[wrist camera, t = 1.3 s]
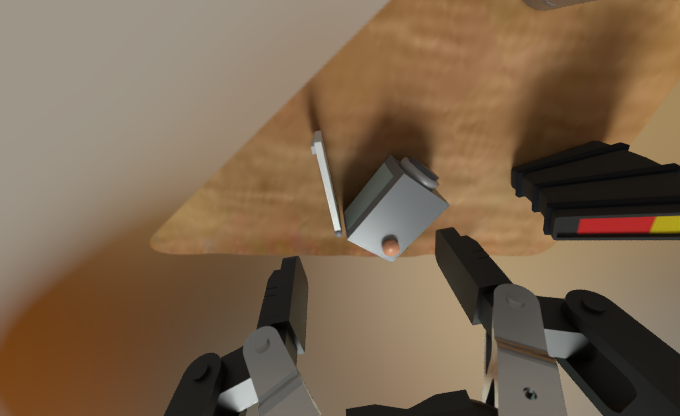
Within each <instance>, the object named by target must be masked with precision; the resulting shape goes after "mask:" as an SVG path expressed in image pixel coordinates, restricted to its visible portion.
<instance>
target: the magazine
mask: <svg viewBox="0 0 680 416" xmlns="http://www.w3.org/2000/svg"><path fill="white" fill-rule="evenodd" d="M629 146H630V145H628V144H624V143H621V142H620V143H616V144H613V145H609V144H606V143H603V142H600V141H594V142H591V143H588V144H585V145H582V146H579V147H575V148H572V149H569V150H566V151H563V152H560V153H557V154H554V155H551V156H548V157H545V158H542V159H539V160H536V161H533V162H530V163H527V164H524V165H521V166H518V167H515V168H513V169H512V182H511V186H512V188H514V189H515V190H516V196H517V197H523V196H525V197H526V198H528V199H529V200H530V201H531V202H532V211H533V212H541V213H542V215H543V216H544V227H543V231H544V234H545V235H551V236H552V238H553V240H680V166H679V165H677V164H675V163H672V164H666V165H660V164H658V163H656V162H654V161H652V160H650V159H648V158H646V157H643V156H641V155H638V154H635V153H632V152H629V151H628V150H629Z"/></svg>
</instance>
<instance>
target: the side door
mask: <svg viewBox="0 0 680 416" xmlns="http://www.w3.org/2000/svg"><path fill="white" fill-rule="evenodd" d="M311 149H312V153H313V154H317V158H318V162H319V166H320V170H321V174H322V179H323V183H324V187H325V191H326V195H327V199H328V204H329V208H330V212H331V216H332V220H333V225H334V229H335V236H336V237H341V236H342V227H341V220H340V212H339V211H338V207H337V202H336V198H335V193H334V188H333V184H332V179H331V175H330V170H329V166H328V161H327V156H326V152H325V147H324V143H323V138H322V134H321V130H320V131H315V135H314V138H312V141H311Z"/></svg>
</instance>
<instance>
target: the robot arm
mask: <svg viewBox="0 0 680 416" xmlns="http://www.w3.org/2000/svg"><path fill="white" fill-rule="evenodd" d="M523 1H524V2H525V3H526V4H527V5H528V6H530V7H532V8H534V9H538V10H550V9H556V8H561V7H566V6H571V5H575V4H580V3H585V2H590V1H595V0H523ZM435 256H436V260H437V263H438V266H439V267H440V269H441V271H442V273H443V274H444V276H445V278H446V279H447V281H448V283H449V285H450V287H451V288H452V290H453V292H454V293H455V295H456V297H457V299H458V301H459V302H460V304H461V306H462V308H463V309H464V311H465V313H466V315H467V316H468V318H469V320H470V322H471V323H472V325H477V324H482V325H483V327H484V328H485V330H486V331H485V349H484V383H483V393H482V402H481V401H477V400H473V399H470V398H469V396H468V394H467V391H466V390H460V391H454V392H448V393H442V394H436V395H434V396H432V397H430V398H428V399H426V400H424V401H423V402H421V403H419V404H417V405H415V406H413V407H411V408H409V409H402V408H395V407H388V406H382V405H376V404H375V405H368V406H362V407H356V408H350V409H346V416H567V411H566V407H565V401H564V396H563V391H562V386H561V381H560V375H559V370H558V366H557V363H556V361H557V362H558V363H559V364H560V365H561V367H562V368H563V369H564V370H565V371H566V372H567V374H568V375H569V376H570V377H571V378H572V380H573V381H574V382H575V383H576V384H577V385H578V386H579V388H580V389H581V390H582V391H583V393H584V394H585V395H586V396H587V397H588V398H589V400H590V401H591V402H592V403H593V404H594V406H595V407H596V408H597V409H598V410H599V411H600V413H601V414H602V415H603V416H680V354H679V353H678V352H676V351H675V350H674V349H672V348H671V347H670V346H669V345H667V344H666V343H665V342H663V341H662V340H661V339H660V338H658V337H657V336H656V335H654V334H653V333H652V332H650V331H649V330H648V329H647V328H645V327H644V326H643V325H642V324H640V323H639V322H638V321H636V320H635V319H634V318H633V317H631V316H630V315H629V314H627V313H626V312H625V311H624V310H622V309H621V308H620V307H618V306H617V305H616V304H614V303H613V302H612V301H611V300H609V299H608V298H606V297H604V296H602V295H600V294H598V293H595V292H591V291H588V290H573V291H570V292H568V294H567V295H566V297H565V299H561V298H551V297H541V296H535V295H534V294H533V293H532V292H531V291H529V290H527V289H526V288H524V287H522V286H519V285H516V284H513V283H512V282H511V281H510V280H509V278H508V277H507V276H506V275H505V274H504V273H503V271H502V270H501V269H500V268H499V267H498V266H497V264H496V263H495V262H494V261H493V260H492V259H491V258H490V257H489V255H488V254H487V253H486V252H485V251H484V249H483V248H482V247H481V246H480V245H479V243H478V242H477V241H475V240H474V239H472V238H470V237H468V236H467V235H466V236H460V235H459V233H458V232H457V231H456V230H455V228H453V227H450V228H445V229H439V230H437V231H436V241H435ZM307 301H308V282H307V277H306V274H305V271H304V269H303V266H302V263H301V260H300V258H299V256H293V257H288V258H283V260H282V265H281V270H275V271H274V272H273V273H272V275H271V276H270V278H269V279H268V282H267V287H266V291H265V296H264V300H263V304H262V308H261V312H260V316H259V321H258V325H257V329H256V330H255V331H254V332H253V333H252V334H251V335H250V336H249V337H248V338H247V340H246V342H245V344H244V346H242V347H241V348H239V349H237V350H235V351H233V352H231V353H229V354H227V355H225V356H223V357H221V358H220V357H219V356H218V355H217V354H215V353H207V354H204V355H202V356H200V357H199V358H197V359H196V360H195V361H193V362H192V363H191V364H190V366H189V367H188V368H187V370H186V371H185V373H184V374H183V376H182V379H181V381H180V383H179V385H178V387H177V389H176V391H175V393H174V395H173V397H172V400H171V402H170V404H169V406H168V408H167V410H166V412H165V414H164V416H245V415H246V412H247V408H248V407H249V406H251V405H253V404H255V403H256V402H258V401H259V406H258V413H259V416H322V415H321V413H320V412H319V410H318V408H317V406H316V404H315V402H314V400H313V398H312V396H311V394H310V392H309V390H308V388H307V386H306V384H305V382H304V380H303V378H302V376H301V374H300V372H299V370H298V369H297V367H296V364H297V355H298V354H304V353H305V338H306V319H307ZM551 356H553V357H554V358H555V359H556V360H555V359H554V358H553V357H551Z"/></svg>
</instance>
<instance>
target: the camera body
mask: <svg viewBox="0 0 680 416" xmlns="http://www.w3.org/2000/svg"><path fill="white" fill-rule="evenodd" d="M438 179H439V177H438V176H437V175H436V174H435V173H434V172H432V171H431V170H430V169H429V168H428V167H426V166H425V165H424V164H423V163H421V162H420V161H419V160H417V159H416V158H414V157H413V156H411V157H410V158H407V157H404V158H403V159H402V161H401V162H400V161H399V160H397V159H396V158H394V157H393V156H392V155H389V156H388V157H387V158H386V160H385V161H384V162H383V163H382V165H381V166H380V167H379V168H378V170H377V171H376V172H375V173H374V175H373V176H372V177H371V178H370V180H369V181H368V182H367V183H366V185H365V186H364V187H363V188H362V190H361V191H360V192H359V193H358V195H357V196H356V197H355V198H354V200H353V201H352V202H351V203H350V205H349V206H348V207H347V208H346V210H345V211H344V212H343V215H344V222H345V228H346V235H347V240H349V241H351V242H353V243H355V244H357V245H359V246H361V247H363V248H364V249H366V250H368V251H370V252H372V253H374V254H376V255H378V256H380V257H382V258H384V259H386V260H388V261H390V262H393V261H394V260H395V259H396V258H397V257H398V256H399V255H400V254H401V253H402V252H403V251H404V250H405V249H406V248H407V247H408V246H409V245H410V244H411V243H412V242H413V241H414V240H415V239H416V238H417V237H418V236H419V235H420V234H421V233H422V232H423V231H424V230H425V229H426V228H427V227H428V226H429V225H430V224H431V223H432V222H433V221H434V220H435V219H436V218H437V217H438V216H439V215H440V214H441V213H442V212H443V211H444V210H445V209H446V208H447V207H449V206H450V205H449V204H448V203H447V201H446V200H445V199H444V198H443V197H442V196H441V195H440V194H439V193H438V191H437V190H436V188H437V186H438V185H439V183H438V182H437V180H438Z"/></svg>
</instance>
